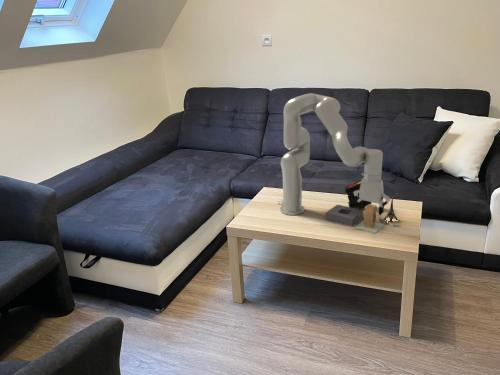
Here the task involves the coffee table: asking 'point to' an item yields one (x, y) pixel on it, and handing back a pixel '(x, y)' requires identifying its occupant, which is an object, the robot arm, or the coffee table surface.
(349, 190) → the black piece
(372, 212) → the plug
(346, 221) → the grey flat block
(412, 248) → the coffee table surface
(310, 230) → the coffee table surface
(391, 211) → the eiffel tower figurine
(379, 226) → the mat
